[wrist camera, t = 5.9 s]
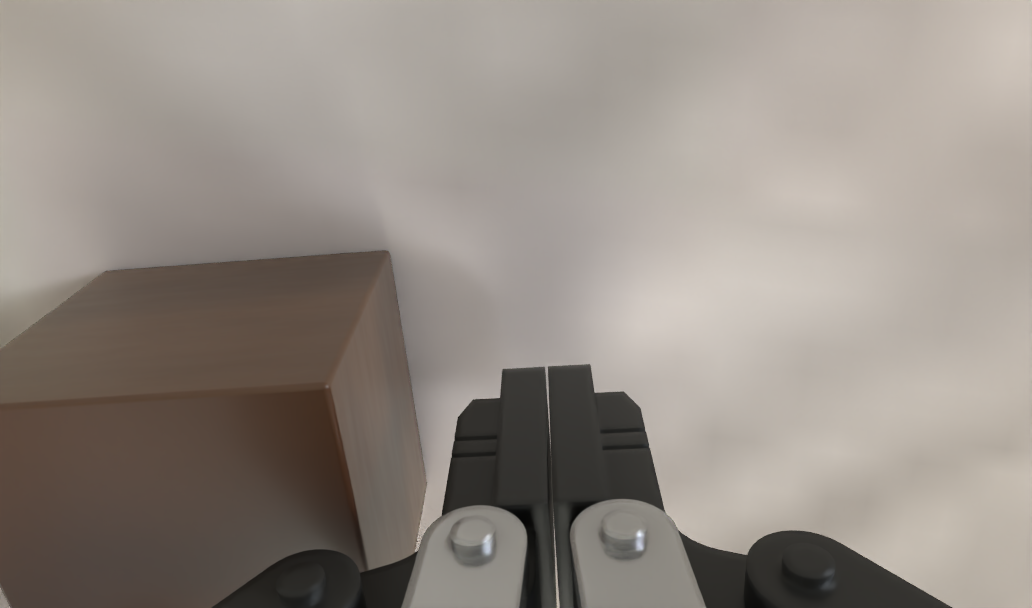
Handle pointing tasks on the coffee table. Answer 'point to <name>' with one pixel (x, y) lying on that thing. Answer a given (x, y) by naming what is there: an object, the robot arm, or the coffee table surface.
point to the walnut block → (206, 432)
